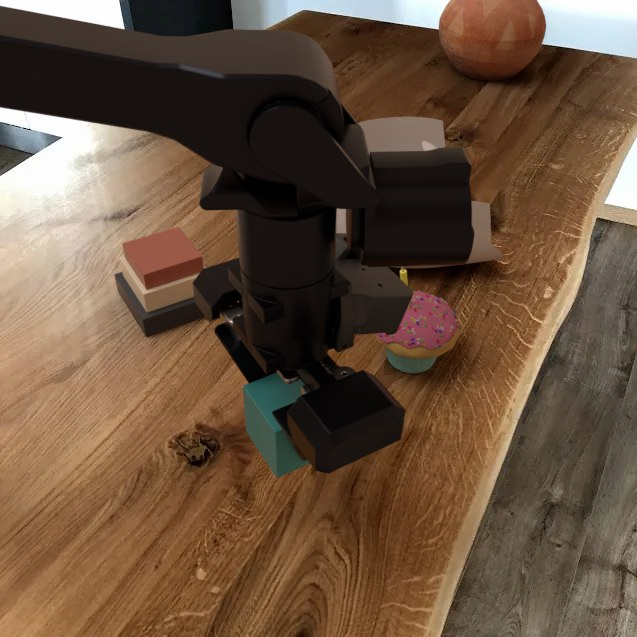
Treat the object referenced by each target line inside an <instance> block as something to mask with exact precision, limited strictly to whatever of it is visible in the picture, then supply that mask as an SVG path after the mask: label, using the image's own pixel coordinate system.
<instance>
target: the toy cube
mask: <svg viewBox="0 0 637 637" xmlns="http://www.w3.org/2000/svg"><path fill="white" fill-rule="evenodd" d="M301 386H304V384H303V382H302V381H301V380H300V379H299V380H298V381H296V382H294V383H291V384H286V383H285V382H284V381H283V379H282V378H281V377H280V375H279V374H278V373H274V374H271V375H269V376H266V377H264V378H261V379H259V380H256V381H254V382H251V383H246V384H244V385H243V386H242V393H243V406H244V409H243V410H244V419H245V420H244V421H245V432H246V434H247V435H248V437H249V438H250V440H251V441H252V443H253V445H254V446H255V447H256V449H257V451H258V452H259V454H260V455H261V456H262V458H263V459H264V461H265V463H266V464H267V465H268V467H269V468H270V470H271V471H272V473H273V474H274V476H275V478H277V479H280V478H281V477H283V476H286V475H287V474H290V473H292V472H294V471H297V470H299V469H301V468H303V467H305V466H307V465H311V464H310V463H309V461H308V460H306V461H302V459H301V458H300V457H299V455H298V453H297V452H296V450H295V449H294V447H293V446H292V444H291V443H290V441H289V439H288V438H287V436H286V435H285V433H284V432H283V430H282V428H281V427H280V426H279V424H278V422H277V421H276V419H275V418H274V416H273V414H272V411H275V410H277V409H280V408H282V407H284V406H287V405H289V404H292V403H294V402H296V399H297V398H299V397H300V396H301Z"/></svg>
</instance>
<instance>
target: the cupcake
mask: <svg viewBox="0 0 637 637" xmlns="http://www.w3.org/2000/svg"><path fill="white" fill-rule="evenodd" d="M399 278H400V279H401V280H402V281H403V282H404V283H405V284H406V285H407V286H409V282H408V280H409V279H408V270H407V269H406V268H403V266H401V268H400V270H399ZM412 291H413V297H412V299H411V301H410V303H409V306H408V308H407V310H406V313H405V315H404V317H403V319H402V322H401V324H400V326H399V328H398V331H397V333H395V334H392V335H386V334H385V333H375V334H374V336H375V338H376V341H377V342H378V343H379V344H380V345H381V346H383V347H384V350H385V352H386V356H387V360H388V361H389V364H391V366H393V368H394V369H396V370H398V371H400V372H403V373H405V374H419V373H424V372H426V371H428V370H429V369H431V367H432V366H434V364H435V362H436V360H437V358H438V357H440V356H441V355H444V354H445V353H448V351H450V350H452V349H453V348H454V347H455V345H456V343H457V340H458V338H459V335H460V324H459V319H458V317H457V315H456V310H455V309H453V307H452V306H450V304H449V302H447V301H446V300H444V298H443V297H439V295H434V294H435V293H433V294H432V293H428V292H424V291H421V290H419V289H418V290H412Z"/></svg>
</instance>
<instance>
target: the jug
mask: <svg viewBox="0 0 637 637" xmlns="http://www.w3.org/2000/svg"><path fill="white" fill-rule="evenodd" d="M546 30H547V20H546V15H545V13H544V10H543V7H542V6H541V4H540V2H539V1H538V0H449V1H448V3H447V4H446V6H445V7H444V9H443V10H442V13H441V15H440V16H439V19H438V35H439V36H438V37H439V42H440V45H441V48H442V50H443V52H444V53H445V55H446V57H447V59H448V60H449V62H450V63H451V65H452V66H453V68H454V69H455V70H456V71H457V72H458V73H459V74H461V75H463V76H466V77H467V78H470V79H474V80H478V81H479V80H480V81H484V82H485V81H487V82H488V81H489V82H490V81H491V82H496V81H497V82H498V81H504V80H509V79H511V78H514V77H515V76H516V75H518V74H519V73H520V72H521V71H522V70H523V69H524V68H525V67H526V66H528V65H529V64H530V63H531V62H532V61H533V59H534V58H535V57H536V56H537V55H538V53H539V51H540V50H541V47H542V45H543V42H544V39H545V36H546V32H547V31H546Z"/></svg>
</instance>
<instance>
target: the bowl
mask: <svg viewBox="0 0 637 637" xmlns="http://www.w3.org/2000/svg"><path fill="white" fill-rule="evenodd" d="M358 124H359V125H360V126H361V128H362V129H363V131H364V135H365V139H366V143H367V148H368V152H369V156H370V152H384V151H428V150H433V149H437V148H442V147H446V142H445V141H446V140H445V128H444V120H442V119H438V118H432V117H424V116H391V117H380V118H379V117H378V118H374V119H373V118H372V119H368V120H364V121H359V122H358ZM471 201H472V226H473V229H474V242H473V247H472V251H471V255H470V257H469V260H468V261H467V263H466V264H465V265H468V264H475V263H483V262H489V261H490V262H491V261H492V262H493V261H498V260H503V258H504V254H503V252H502V251H501V250H500V249H499V248H497V247H496V246H494V245H492V224H491V223H492V222H491V221H492V220H491V203H489V202H484V201H477V200H471ZM336 233H346V209H337V219H336ZM441 267H453V265H440V266H403V269H430V268H432V269H433V268H441ZM394 268H396V269H401V266H400V267H394Z"/></svg>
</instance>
